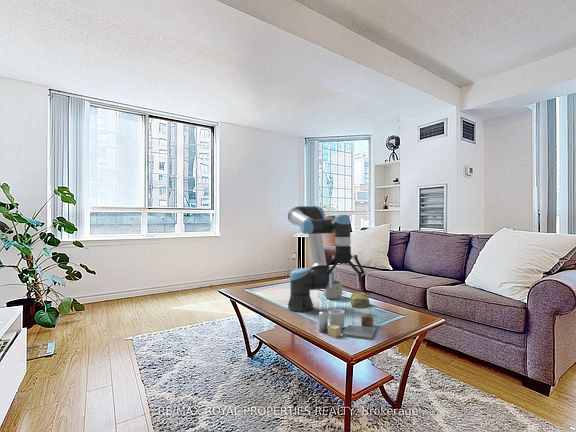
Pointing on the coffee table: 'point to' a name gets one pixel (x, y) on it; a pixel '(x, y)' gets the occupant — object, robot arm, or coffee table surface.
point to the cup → (336, 317)
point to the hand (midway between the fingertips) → (344, 287)
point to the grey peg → (323, 322)
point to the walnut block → (367, 320)
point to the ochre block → (334, 331)
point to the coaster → (359, 332)
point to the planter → (334, 290)
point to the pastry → (359, 300)
